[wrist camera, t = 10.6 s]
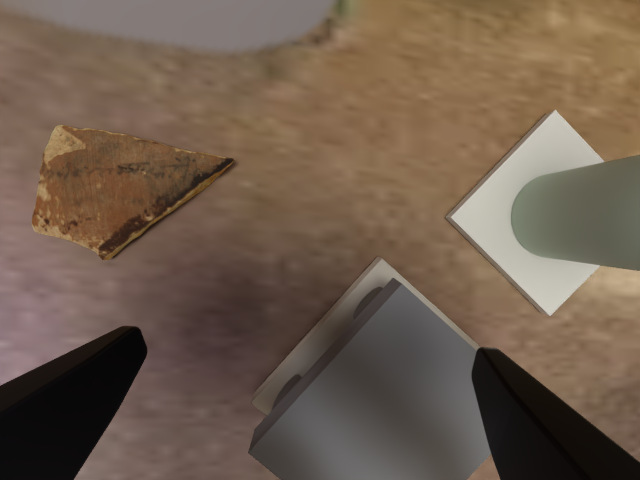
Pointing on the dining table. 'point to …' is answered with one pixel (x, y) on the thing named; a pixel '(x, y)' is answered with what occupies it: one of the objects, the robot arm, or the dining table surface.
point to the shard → (114, 186)
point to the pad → (496, 211)
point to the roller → (583, 214)
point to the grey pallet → (374, 392)
